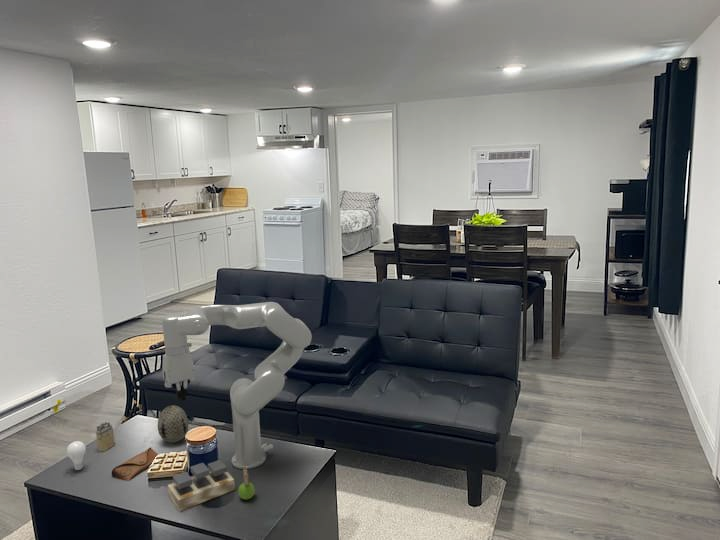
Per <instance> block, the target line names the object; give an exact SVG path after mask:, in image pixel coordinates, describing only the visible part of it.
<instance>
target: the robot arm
mask: <svg viewBox="0 0 720 540" xmlns="http://www.w3.org/2000/svg"><path fill="white" fill-rule="evenodd" d="M161 325H162V326H161V327H162V332H163V333H162V334H163V341H164V342H163V343H164V351H165V353H164V354H163V355H162V356H163V357H162V378H163V381H164V387H165V388H167V389H169V388H173V389H175V393H176V397H177V399H178V400H180V401H181V402H182V401H186V400H187V395H188V394H187V389H188V386H189V385H190V383H191V382H193V381H195V380H196V379H197V378H196V370H195V362H194V360H193V356H192V353H191V350H190V348H191V347H192V346H193V345H192V342H188V336H200V335H201V336H202V335H203V334H205V333H206V332H208V330H209V326H228V327H230V328H232V329H235V330H236V329H237V330H243V329H251V328H253V329H254V328H260V327H266V328H267V329H268V330H269V331H270V332H272V333H273V334H274V335H275V336H277V337H278V338H280V340H282V342H281V344H280V345H279V347H277V349H276V350H274V351H273V353H271V354H270V355H269V356H267V357H266V358H265V359H263V361H261V362H260V363H259V364H258V365H257V366H256V368H255V369H254V373H253V375H254V379H255V380H251V379H249V378H246V377H242V378H238V379H236V380H235V381H234V382H233V383H232V385H231V387H230V391H229V397H230V404H231V405H230V407H231V412H232V413H231V414H232V415H231V416H232V429H233V441H234V451H235V454H234V455H233V456H232V457H231V464H232V466H233V467H235V468H237V469H241V470H243V469H244V468H246V469H247V470H249V469H254V468H257V467H259V466H261V465H263V464H264V463H265V461H267V460H266V459H267V454H266V453H267V452H269V451H272V450H274V445H273V444H269V445H268V443H263V444H262V442H261V426H260V425H261V424H260V412H259V411H260V410H261V409H263V408H264V407H265V406H266V405H267V404H269V403H270V402H271V401H272V400H273V399H275V397H276V396H277V395H279V394H280V392H281V391H282V390H283V388H284V386H285V383H286V381H285V374H286V373H287V372H288V371H289V370H290V369H291V368H292V367H293V366H294V365H296V363H297V362H298V361H299V359H300V358H301V356H302V354H303V352H304V349H305V348H307V347H308V346H309V345H310V344H311V342H312V339H313V338H312V337H313V336H312V332H311V330H310V329H309V328H308V326H307V325H306V324H305V322H303V321H302V320H301V319H299V318H296V317H295V318H294V317H293V316H292V315H291V314H289V313H288V312H287V311H286V310H285V309H284V308H283V307H282V306H281V305H280V304H279V303H278V302H274V301H267V302H266V301H264V302H256V303H249V304H247V303H246V304H239V305H238V304H236V305H235V304H233V305H232V304H212V305H211V304H209V305H201V306H195V307H193V308H191V309H189V310H188V311H187V312H186V314H185V315H183V314H182V313H169V314H166V315H164V316H163V317H162V319H161Z"/></svg>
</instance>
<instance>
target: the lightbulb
mask: <svg viewBox="0 0 720 540" xmlns="http://www.w3.org/2000/svg"><path fill="white" fill-rule="evenodd" d="M86 451H87V447H86V444H85V442H83V441H81V440H80V441H79V440H75V441H72V442H71V443H69V444H68V446H67V448H66V455H67V457H68V458H69V459H71V462H72V463H73V465H74V470H75V471H80V470H82V469H83V467H84V465H83V460H84V456H85V454H86Z"/></svg>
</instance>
